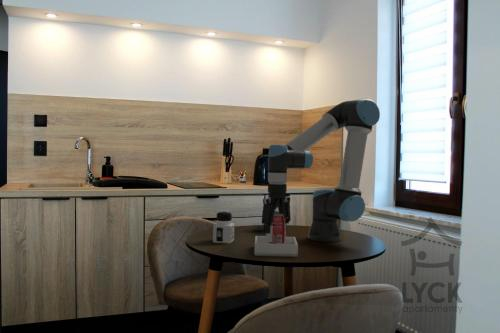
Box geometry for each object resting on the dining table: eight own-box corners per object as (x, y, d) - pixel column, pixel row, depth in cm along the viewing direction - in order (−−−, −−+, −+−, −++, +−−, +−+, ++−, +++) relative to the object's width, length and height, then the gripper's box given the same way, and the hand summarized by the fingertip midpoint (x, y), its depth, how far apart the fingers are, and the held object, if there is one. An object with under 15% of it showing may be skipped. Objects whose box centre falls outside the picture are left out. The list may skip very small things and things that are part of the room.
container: (229, 243, 197) (230, 213, 196) (212, 242, 198) (213, 212, 198) (234, 240, 204) (234, 211, 204) (217, 239, 206) (218, 210, 206)
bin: (294, 247, 192) (295, 237, 192) (297, 256, 175) (297, 245, 175) (255, 246, 192) (255, 235, 192) (254, 255, 176) (254, 243, 176)
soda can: (275, 241, 189) (276, 212, 188) (288, 244, 183) (289, 214, 183) (263, 243, 184) (264, 214, 183) (276, 246, 179) (276, 216, 178)
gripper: (287, 181, 192) (285, 236, 193) (252, 183, 179) (251, 241, 179) (300, 183, 187) (299, 238, 188) (266, 184, 173) (264, 244, 174)
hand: (275, 240), depth 184 cm, fingers closed on soda can, 7 cm apart
